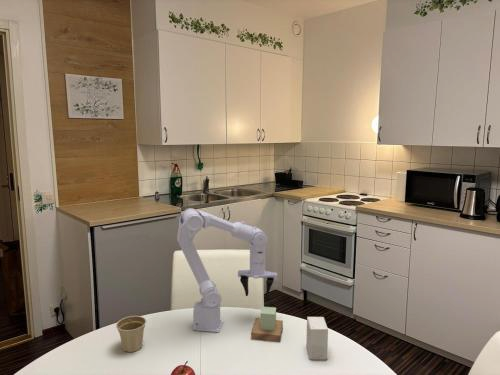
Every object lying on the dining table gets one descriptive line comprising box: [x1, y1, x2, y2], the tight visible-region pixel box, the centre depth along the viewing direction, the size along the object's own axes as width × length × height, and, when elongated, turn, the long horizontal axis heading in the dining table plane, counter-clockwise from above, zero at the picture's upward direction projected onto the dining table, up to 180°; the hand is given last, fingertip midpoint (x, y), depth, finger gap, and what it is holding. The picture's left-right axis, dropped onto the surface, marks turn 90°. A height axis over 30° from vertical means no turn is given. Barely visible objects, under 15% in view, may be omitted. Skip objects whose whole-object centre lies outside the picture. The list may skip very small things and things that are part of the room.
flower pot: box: [115, 315, 147, 353], centre depth 124 cm, size 9×9×9 cm
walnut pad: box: [250, 317, 284, 343], centre depth 133 cm, size 10×10×3 cm
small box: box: [306, 316, 329, 361], centre depth 121 cm, size 8×6×10 cm
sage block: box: [260, 306, 277, 331], centre depth 132 cm, size 5×5×6 cm
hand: (257, 295), depth 141 cm, fingers open, 7 cm apart
